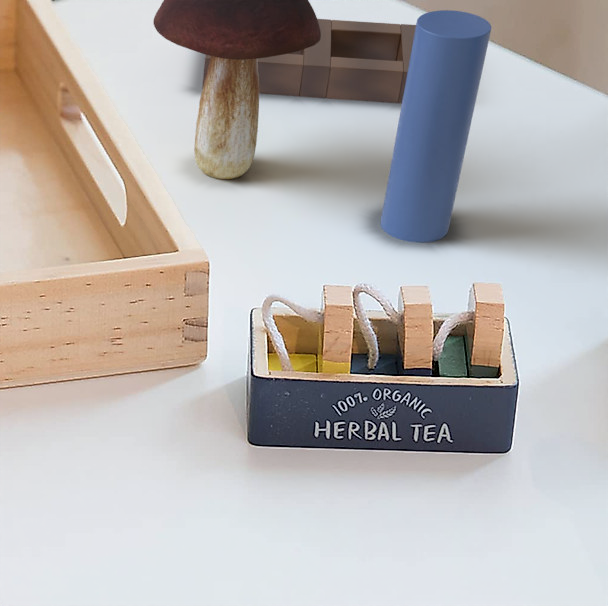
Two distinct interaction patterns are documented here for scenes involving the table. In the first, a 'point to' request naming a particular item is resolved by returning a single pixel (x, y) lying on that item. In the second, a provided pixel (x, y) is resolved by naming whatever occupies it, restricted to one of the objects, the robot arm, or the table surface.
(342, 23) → the rack
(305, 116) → the table surface
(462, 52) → the peg
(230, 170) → the decorative mushroom
